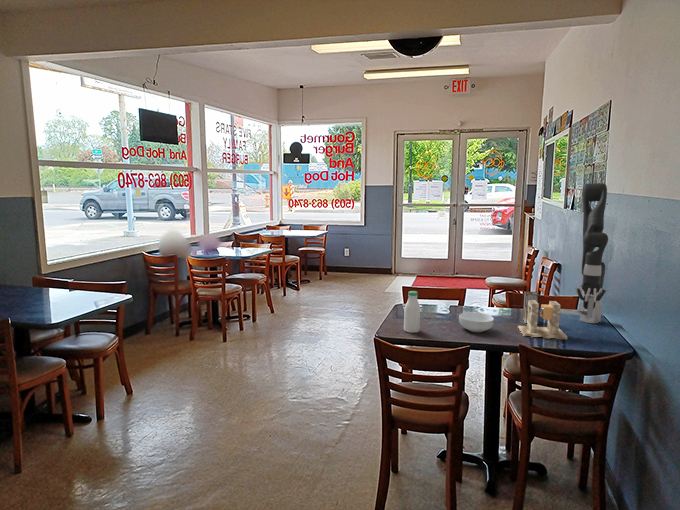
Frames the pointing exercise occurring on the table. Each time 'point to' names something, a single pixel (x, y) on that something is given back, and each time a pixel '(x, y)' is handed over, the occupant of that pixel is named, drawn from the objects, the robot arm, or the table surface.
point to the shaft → (585, 312)
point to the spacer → (547, 311)
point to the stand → (545, 332)
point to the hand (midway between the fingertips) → (588, 308)
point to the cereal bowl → (476, 321)
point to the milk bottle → (412, 313)
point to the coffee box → (527, 297)
